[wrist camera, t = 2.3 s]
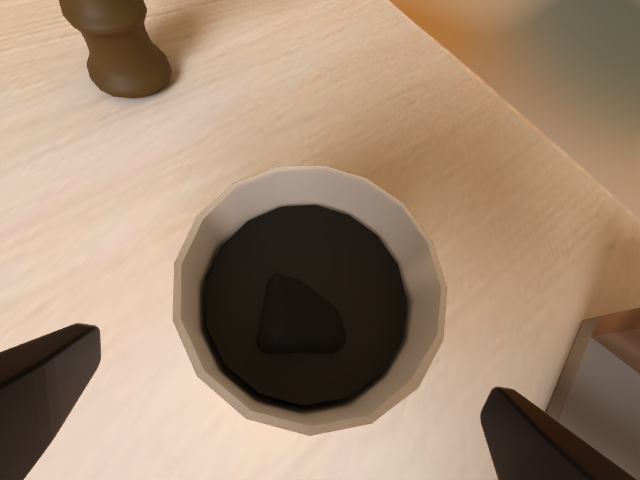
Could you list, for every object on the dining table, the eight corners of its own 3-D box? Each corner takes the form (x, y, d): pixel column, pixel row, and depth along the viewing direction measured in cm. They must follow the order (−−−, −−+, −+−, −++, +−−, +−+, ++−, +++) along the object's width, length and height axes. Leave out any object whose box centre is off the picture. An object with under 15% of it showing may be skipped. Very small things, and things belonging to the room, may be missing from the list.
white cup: (352, 411, 16) (466, 440, 7) (212, 405, 15) (132, 430, 6) (352, 280, 19) (433, 179, 10) (234, 270, 18) (202, 149, 9)
